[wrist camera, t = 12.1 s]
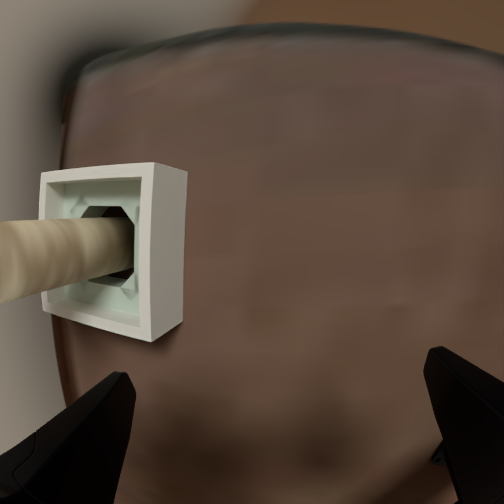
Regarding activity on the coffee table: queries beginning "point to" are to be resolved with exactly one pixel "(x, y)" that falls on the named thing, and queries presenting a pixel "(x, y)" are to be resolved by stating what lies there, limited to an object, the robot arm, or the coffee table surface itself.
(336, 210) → the coffee table surface
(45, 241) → the peg
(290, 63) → the coffee table surface
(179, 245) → the bore box
